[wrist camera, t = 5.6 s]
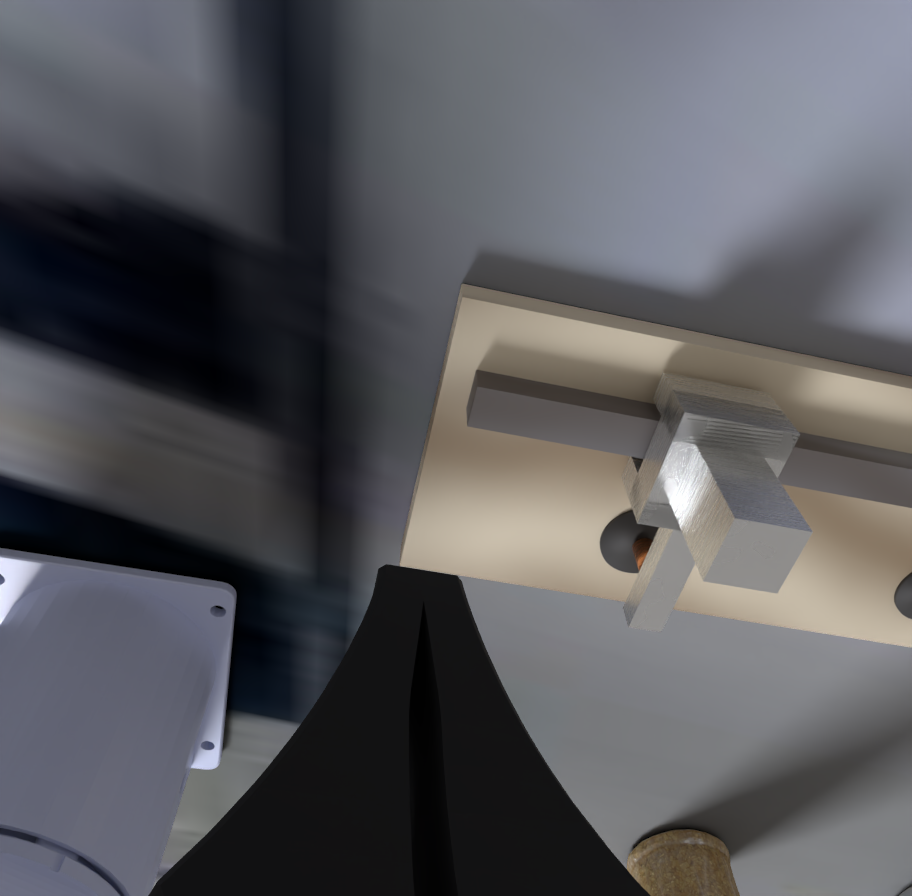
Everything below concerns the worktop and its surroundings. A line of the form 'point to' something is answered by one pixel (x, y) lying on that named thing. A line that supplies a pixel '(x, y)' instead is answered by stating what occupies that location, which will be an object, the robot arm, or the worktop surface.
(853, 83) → the worktop surface
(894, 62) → the worktop surface
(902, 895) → the ramekin
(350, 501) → the worktop surface
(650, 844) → the sprinkles bottle
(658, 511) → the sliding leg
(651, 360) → the board
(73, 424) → the worktop surface
